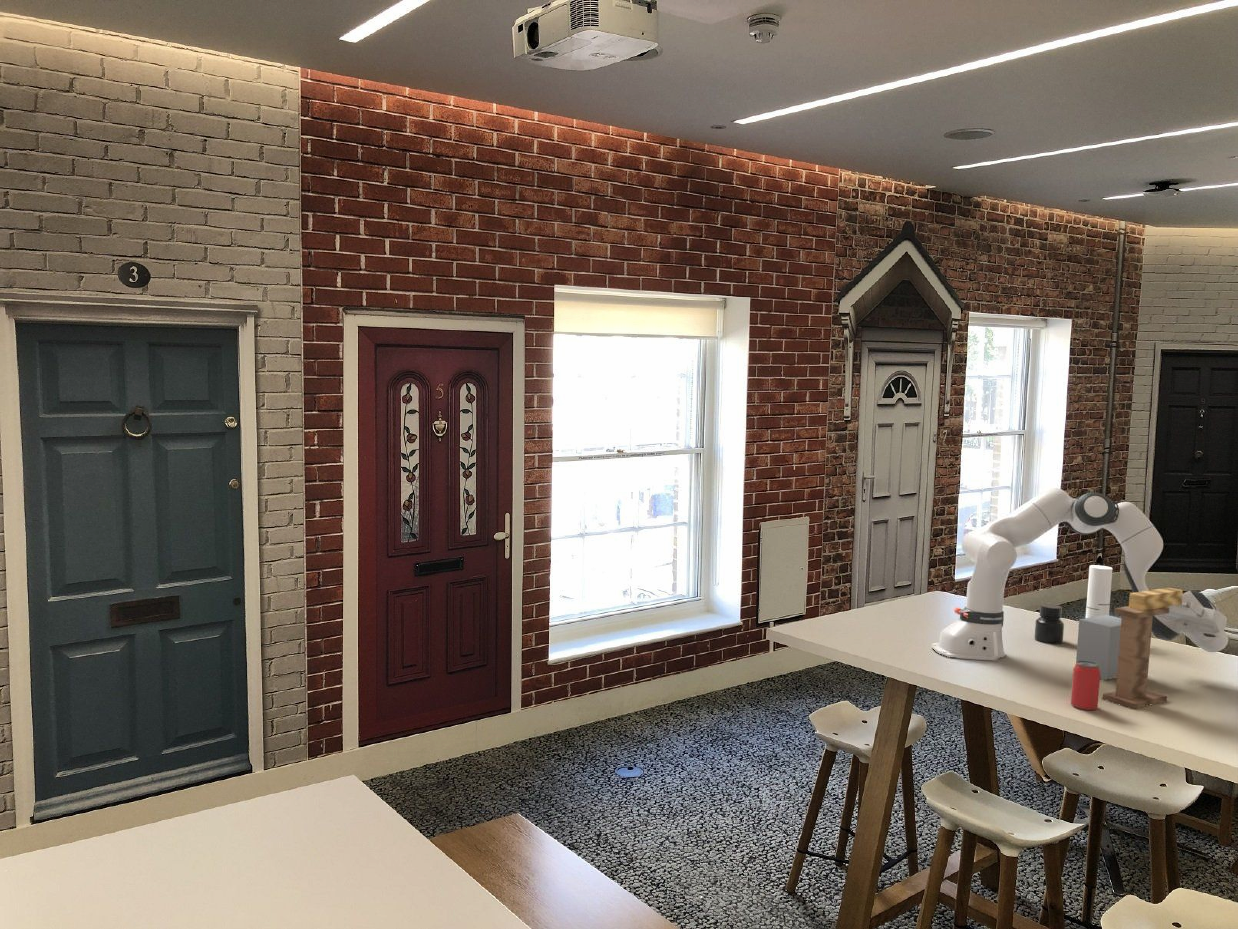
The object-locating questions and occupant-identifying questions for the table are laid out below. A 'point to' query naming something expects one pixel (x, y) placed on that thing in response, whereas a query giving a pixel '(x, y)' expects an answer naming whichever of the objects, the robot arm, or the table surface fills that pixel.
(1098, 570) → the cylindrical container
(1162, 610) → the stand
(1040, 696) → the table surface
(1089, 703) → the beer can
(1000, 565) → the robot arm
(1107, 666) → the ledge block
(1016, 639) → the table surface
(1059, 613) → the ink bottle
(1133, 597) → the bar
